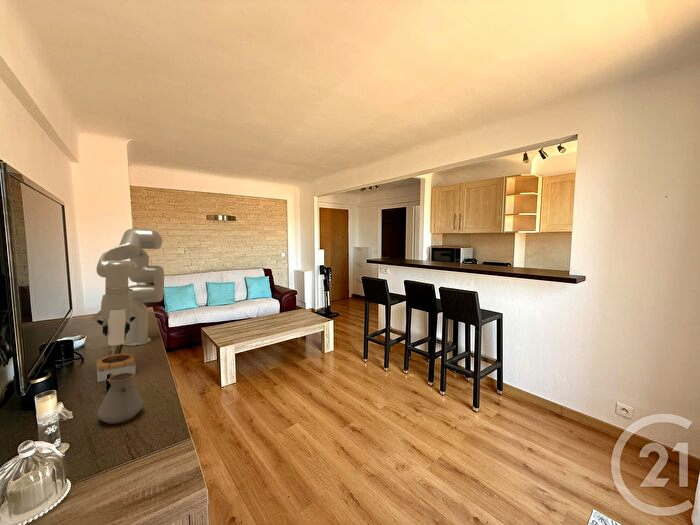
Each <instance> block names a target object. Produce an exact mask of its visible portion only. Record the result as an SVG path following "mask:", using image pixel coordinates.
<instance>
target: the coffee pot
mask: <svg viewBox="0 0 700 525" xmlns="http://www.w3.org/2000/svg"><path fill="white" fill-rule="evenodd" d="M134 377H135V375H134V374H133V373H121V374H117V375H114V376H112V377H110V378H109V379H107V382H108V383H109V384H110V387H109V389H108V390H107V393H106V395H105V396H104V399H103V401H102V403H101V404H100V406H99V408H98V410H97V412H96V413H97V417H98V418H99V420H101V421H102V422H105V423H107V424H113V425H114V424H120V423H121V424H122V423H124V422H127V421H129V420H131V419H133V418H134V417H135V416H136V415H137V414H138V413H139V412H140V411H141V410H142V408H143V406H144V400H143V398H142V397H141V395H140V394H139V392H138V390H137V389H136V387H135V384H134V383H133V382H132V381H133V378H134Z"/></svg>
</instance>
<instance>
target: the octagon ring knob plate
mask: <svg viewBox="0 0 700 525" xmlns="http://www.w3.org/2000/svg"><path fill="white" fill-rule="evenodd" d="M110 373H111V374H113V375H117V374H121V373H133V374H134V376H136V375H135V374H137V365H136V362H135V355H134V354H133V353H117V354H110V355H107V356H104V357H102V358H99V359H96V377H97V383H101V382H106V379H107V375H108V374H110Z"/></svg>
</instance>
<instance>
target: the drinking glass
mask: <svg viewBox="0 0 700 525" xmlns="http://www.w3.org/2000/svg"><path fill="white" fill-rule="evenodd" d="M126 322H127V321H126V316H125V309H124V310H111V311H110V314H109V319H108V322H107V345H108V346H111V347H115V346H120V345H121V346H122V345H123V343H124V340H125V338H126V333H125V329H126Z"/></svg>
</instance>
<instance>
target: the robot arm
mask: <svg viewBox="0 0 700 525" xmlns="http://www.w3.org/2000/svg"><path fill="white" fill-rule="evenodd" d="M162 245H163V239H162V236H161V235H160V233H159V232H157V231H156V230H155V229H148V228H147V229H146V228H144V229H143V228H129V229H127V230H125V231H124V233H123V235H122V238H121V240H120V242H119V244H118V245H116V246H114V247H112V248H110V249H108V250H107V251H106V250H105V252H103V253H102V254H101V256H100V258H99V260H98V262H97V266H96V273H97V275H98V276H99V277H101V278H105V290H104V291H105V292H104V294H102V297H101V302H100V304H101V305H100V310H99V311H98V312H97V313H95V315H93V316H92V318H91V319H92V321H95V323H98V325H101V327H102V334H103V335H104V336H105V337H108V332H107V322H108V319H109V314H110V311H111V310H124V309H125V316H126V321H127V322H126V329H125V339H124V343H123V344H122V345H123V346H125V345H126V346H125V347H133V346H136V345H137V346H141V345H145V344H149V343H150V342H151V341H152V339H151V337H148V334H149V333H148V332H149V309H148V308H147V306H146V304H145V303H159V302H162V301H163V299H164V294H165V293H164V291H165V270H164V268H163V267H162V266H160V265H150V256H149V254H148V253H147V251H146V250H158V249H161V247H162ZM129 280H130V281H131V282H132V283H137V284H134V285H133V284H132V285H129ZM138 283H141V284H138ZM143 283H145V284H143ZM146 283H153V284H146ZM99 317H100V318H101V319H100V318H99Z"/></svg>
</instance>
